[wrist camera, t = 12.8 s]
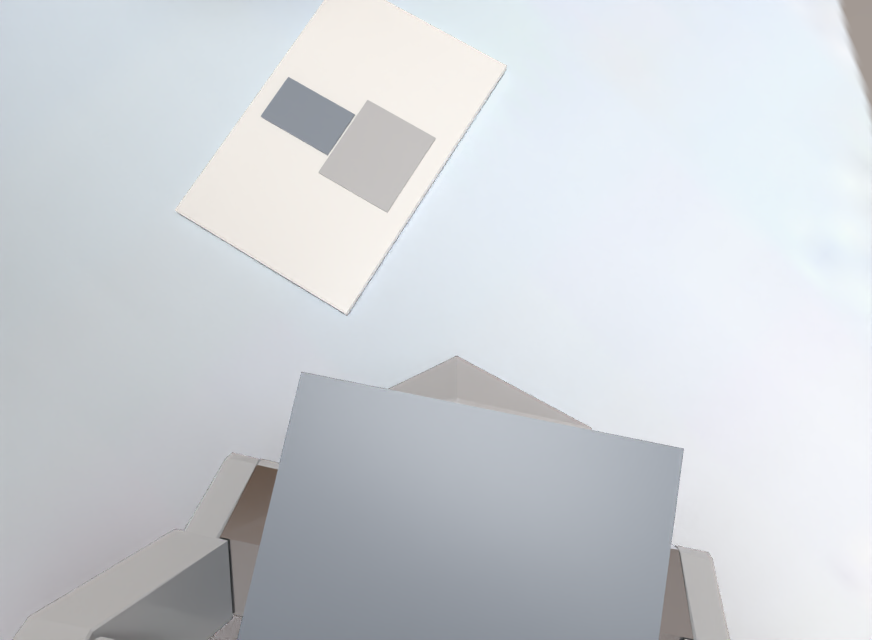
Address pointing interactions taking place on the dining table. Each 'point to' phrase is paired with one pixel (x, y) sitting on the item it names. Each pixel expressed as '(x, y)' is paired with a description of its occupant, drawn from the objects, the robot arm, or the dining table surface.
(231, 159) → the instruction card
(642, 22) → the dining table surface
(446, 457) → the brick
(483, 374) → the die
